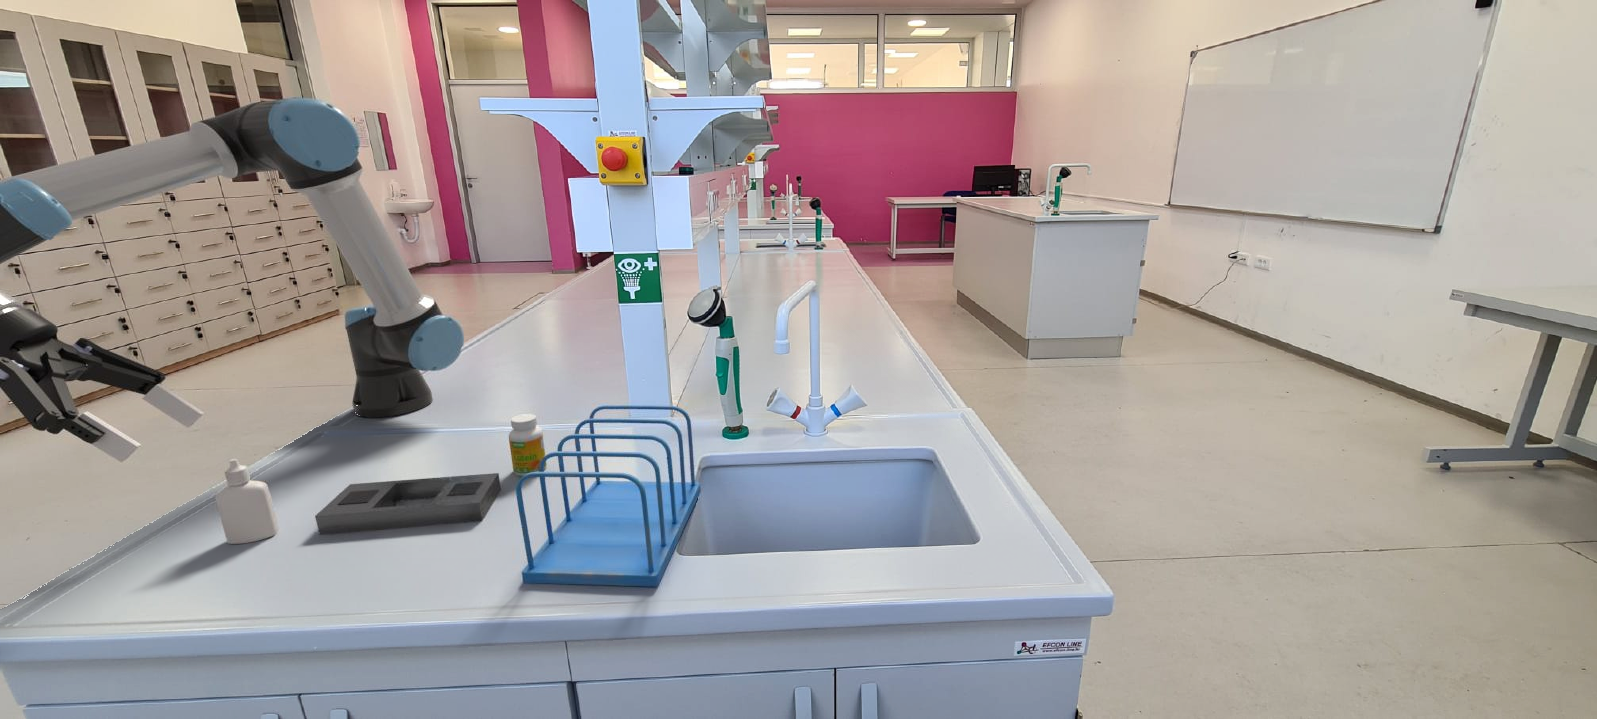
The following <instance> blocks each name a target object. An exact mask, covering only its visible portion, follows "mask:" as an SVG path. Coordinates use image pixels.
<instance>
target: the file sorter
mask: <svg viewBox="0 0 1597 719" xmlns="http://www.w3.org/2000/svg"><path fill="white" fill-rule="evenodd" d="M603 410H656V411H657V410H660V411H661V410H662V411H663V410H664V411H665V410H668V411H669V410H670V411H671V410H672V411H676V412H679V413H680V414H682V416H683V417H684V418H685V420H686V425H687V426H686V427H687V440H688V441H687V442H688V453H689V454H688V455H689V469H690V482H689V481H686V472H685V470H686V469H685V455H684V443H683V434H682V432H681V430H680V428H679V426H678V425H676V423H674V422H672V421H670V420H667V419H660V418H659V419H657V418H653V419H652V418H594V417H595V414H596V413H597V412H599V411H603ZM618 423H619V424H653V425H654V424H655V425H656V424H663V425H667V426H670V427H671V428H672V429H673V430H674V431H675V434H677V439H678V440H677V441H678V451H679V452H678V453H679V464H680V465H679V467H680V481H674V470H673V469H674V468H673V459H672V452H671V449H670V446H669V445H668V443H667V442H666V440H664V439H663V438H662V437H660V436H657V435H653V434H622V433H621V434H619V433H618V434H617V433H612V434H611V433H595V426H594V424H618ZM587 424H589V433H580V430H581V428H582V427H583V426H584V425H587ZM692 430H693V429H692V421H691V418H690V415H689V414H688V413H687V411H686V410H685V409H683V408H681V407H680V406H675V405H658V404H657V405H653V404H652V405H647V404H646V405H645V404H643V405H641V404H639V405H638V404H634V405H633V404H630V405H629V404H613V405H612V404H608V405H607V404H604V405H599V406H598V407H596V408H594V409H593V410H592V412H591V413H590V415H589V418H587V419H584V420H582V421H581V422H580V423H579V424H577V426H576V428H575V431H574V433H573V434H572V433H571V434H568V435H566V436H565V437H563V438H562V439H561V440H560V442H559V443H558V445H557V450H555V451H552V452H549V453H547V454H545V457H544V458H543V459H542V460H541V462H540V464H539V472H531V473H528V474H526V475H524V476H521V477H520V478H519V479H518V481H517V483H516V488H515V495H516V502H517V507H518V513H519V514H518V515H519V519H520V525H521V531H522V538H523V542H524V548H525V549H524V550H525V553H526V560H527V561H526V562H527V564H526V565H525V567H524V568H523V569H522V571H521V577H522V583H525V584H554V585H557V584H558V585H559V584H560V585H591V586H592V585H594V586H623V587H624V586H625V587H628V586H630V587H657V586H658V585H659V584H660V582H661V580H662V577H663V575H664V573H665V571H666V568H667V567H668V564H669V561H670V559H671V558H672V555H673V553H674V550H675V548H676V546H677V545H678V542H679V539H680V538H681V536H682V533H683V531H684V529H685V526H686V524H687V522H688V520H689V518H690V516H691V513H692V511H693V509H694V507H695V505H696V503H697V500H698V499H699V496H700V494H701V490H702V489H701V483H700V482H696V480H695V479H696V477H695V476H696V475H695V461H694V460H695V459H694V458H695V457H694V446H693V432H692ZM581 439H583V440H584V439H587V440H588V439H589V440H591V441H590V442H591V448H592V449H591V451H588V450H587V451H584V450H583V451H581V441H580V440H581ZM597 439H599V440H601V439H602V440H603V439H604V440H605V439H607V440H647V441H649V440H651V441H656V442H657V443H659V444H661V445H662V447H663V448H664V450H665V453H666V462H667V472H668V481H662V480H661V471H660V467H659V464H658V463H657V461H656V460H655V459H654V458H653V457H652V456H650V455H648V454H646V453H643V452H637V451H597V444H596V440H597ZM569 440H574V443H575V444H574V446H575V451H574V450H573V451H571V450H570V451H569V450H568V451H564V450H563V447H564V444H565V443H566V442H567V441H569ZM553 457H557V460H558V461H557V462H558V468H559V471H545V470H544V464H545V462H546V463H547V461H548V460H549V459H550V458H553ZM564 457H576V461H577V468H578V469H577V470H578V471H565V465H564ZM582 457H592V458H593V464H594V465H593V466H594V471H584V468H583V460H582ZM598 457H602V458H603V457H604V458H605V457H606V458H607V457H608V458H640V459H644V460H645V461H647V462H649V463H650V464H651V466H652V467H653V469H654V472H655V474H654V475H655V481H645V480H644V481H642V480H641V481H640V480H639V479H638V477H636V476H634V475H632V474H629V473H627V472H609V471H608V472H606V471H605V472H603V471H602V472H601V471H600V470H599V469H600V468H599V461H598ZM530 478H539V483H540V489H541V497H542V504H543V511H544V519H545V525H546V531H547V537H548V538H547V539H546V541H545V542H544V543H543V545H542V546H540V548H539V550H538V551H537V552H536V553H535V554H534V555H533V552H532V547H531V541H530V534H529V529H528V522H527V516H526V510H525V506H524V499H523V491H522V488H523V485H524V484H523V483H524V482H525V481H527V480H528V479H530ZM546 478H560V484H561V491H562V498H563V504H564V511H565V517H564V518H563V519H562V521H561V523H559V525H558V526H557V527H556V528H555V530H554V531H553V527H552V526H553V525H552V522H551V521H552V520H551V512H550V506H549V504H550V503H549V499H548V492H547V486H546ZM566 478H579V485H580V494H581V498H580V499H579V500H578V502H577V503H576V504H575V505H574V506H573V508H572V509H571V508H570V502H569V495H568V487H567V481H566V480H567V479H566ZM585 478H592V479H593V478H595V481H593V483H592V484H591V486H590V487H588V489H587V490H586V486H585ZM604 478H605V479H611V478H612V479H624V480H625V481H624V480H601V479H604ZM658 587H659V586H658Z"/></svg>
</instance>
